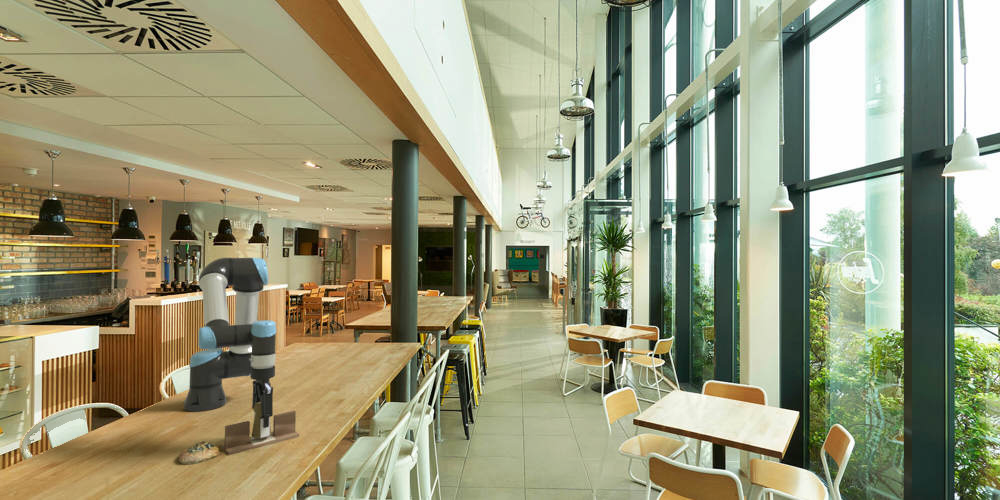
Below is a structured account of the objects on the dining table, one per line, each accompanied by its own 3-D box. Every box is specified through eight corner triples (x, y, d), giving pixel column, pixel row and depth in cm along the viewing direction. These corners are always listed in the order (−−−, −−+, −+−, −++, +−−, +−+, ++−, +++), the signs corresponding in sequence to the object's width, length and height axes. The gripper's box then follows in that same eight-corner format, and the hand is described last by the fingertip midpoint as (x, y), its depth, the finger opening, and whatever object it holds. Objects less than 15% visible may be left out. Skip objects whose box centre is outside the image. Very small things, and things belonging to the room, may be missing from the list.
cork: (275, 432, 157) (276, 400, 158) (261, 438, 152) (261, 405, 152) (261, 430, 159) (262, 398, 159) (247, 436, 154) (248, 403, 154)
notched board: (221, 446, 151) (222, 423, 151) (289, 429, 166) (290, 408, 166) (228, 455, 144) (229, 430, 145) (299, 436, 160) (299, 414, 160)
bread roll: (194, 448, 149) (196, 434, 149) (226, 454, 148) (228, 439, 148) (168, 465, 138) (170, 449, 138) (203, 471, 137) (205, 455, 137)
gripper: (242, 363, 160) (241, 428, 160) (260, 373, 147) (258, 444, 146) (265, 359, 165) (264, 423, 165) (284, 369, 152) (283, 438, 151)
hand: (261, 433), depth 155 cm, fingers closed on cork, 6 cm apart
